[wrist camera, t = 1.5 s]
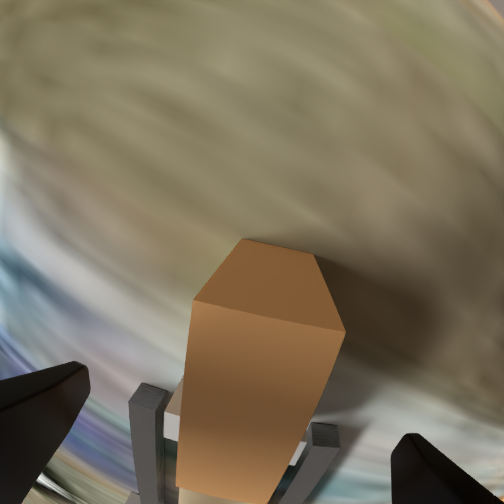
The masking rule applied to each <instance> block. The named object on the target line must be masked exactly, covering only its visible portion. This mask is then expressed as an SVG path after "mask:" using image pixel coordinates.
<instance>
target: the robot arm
mask: <svg viewBox="0 0 504 504" xmlns="http://www.w3.org/2000/svg"><path fill="white" fill-rule="evenodd" d="M90 389H91V387H90V379H89V371H88V368H87V366H86V365H84V364H81V363H79V362H77V361H72V362H68V363H65V364H61V365H58V366H54V367H50V368H47V369H43V370H39V371H35V372H31V373H27V374H24V375H20V376H16V377H12V378H7V379H3V380H0V504H21V503H22V502H23V500H24V499H25V497H26V495H27V494H28V492H29V491H30V489H31V488H32V486H33V485H34V483H35V482H36V480H37V479H38V477H39V475H40V474H41V472H42V471H43V469H44V468H45V466H46V465H47V464H48V462H49V461H50V459H51V458H52V456H53V455H54V453H55V452H56V450H57V449H58V447H59V446H60V444H61V443H62V442H63V440H64V439H65V437H66V436H67V434H68V433H69V431H70V429H71V427H72V426H73V424H74V422H75V420H76V418H77V416H78V414H79V412H80V411H81V409H82V407H83V405H84V403H85V401H86V399H87V398H88V396H89V394H90ZM391 488H392V504H504V502H503V501H501V500H500V499H499V498H498V497H496V496H494V495H493V494H492V493H491V492H490V491H489V490H487V489H486V488H485V487H484V486H482V485H481V484H480V483H479V482H477V481H476V480H475V479H474V478H472V477H471V476H470V475H469V474H467V473H466V472H465V471H464V470H462V469H461V468H460V467H459V466H457V465H456V464H455V463H454V462H453V461H451V460H450V459H449V458H448V457H446V456H445V455H444V454H443V453H442V452H440V451H439V450H438V449H437V448H436V447H434V446H433V445H432V444H431V443H430V442H428V441H427V440H426V439H425V438H424V437H422V436H421V435H420V434H418V433H407V434H405V435H404V436H403V437H402V439H401V440H400V441H399V443H398V444H397V446H396V447H395V449H394V450H393V452H392V454H391Z"/></svg>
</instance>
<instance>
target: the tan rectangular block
mask: <svg viewBox="0 0 504 504" xmlns="http://www.w3.org/2000/svg"><path fill="white" fill-rule="evenodd" d="M345 334H346V331H345V328H344V326H343V323H342V321H341V319H340V316H339V314H338V311H337V309H336V306H335V304H334V302H333V299H332V297H331V294H330V292H329V290H328V287H327V285H326V283H325V280H324V278H323V276H322V273H321V271H320V269H319V267H318V264H317V262H316V260H315V258H314V255H313V254H310V253H306V252H301V251H297V250H292V249H288V248H283V247H278V246H274V245H269V244H265V243H260V242H255V241H251V240H246V239H241V240H240V241H239V243H238V244H237V245H236V246H235V248H234V249H233V250H232V251H231V253H230V254H229V255H228V256H227V258H226V259H225V260H224V261H223V263H222V264H221V265H220V266H219V268H218V269H217V270H216V272H215V273H214V274H213V275H212V277H211V278H210V279H209V280H208V282H207V283H206V284H205V285H204V287H203V288H202V289H201V291H200V292H199V293H198V294H197V296H196V297H195V298H194V299H193V305H192V312H191V320H190V328H189V336H188V344H187V353H186V361H185V370H184V375H183V377H182V379H181V381H180V383H179V385H178V387H177V388H176V390H175V392H174V394H173V396H172V398H171V400H170V402H169V404H168V406H167V408H166V409H165V411H164V437H165V438H168V439H171V440H174V441H178V451H177V467H176V487H180V488H183V489H187V490H190V491H194V492H198V493H202V494H206V495H210V496H215V497H219V498H224V499H229V500H234V501H240V502H246V503H252V504H267V503H268V501H269V499H270V498H271V496H272V494H273V492H274V491H275V489H276V487H277V485H278V483H279V482H280V480H281V478H282V476H283V474H284V473H285V471H286V469H287V467H288V465H295V464H296V462H297V460H298V459H299V457H300V455H301V453H302V451H303V449H304V447H305V445H306V443H307V432H306V429H307V427H308V425H309V422H310V420H311V418H312V416H313V414H314V411H315V409H316V407H317V405H318V402H319V400H320V398H321V395H322V393H323V391H324V388H325V386H326V383H327V381H328V379H329V376H330V374H331V371H332V368H333V366H334V363H335V361H336V358H337V356H338V353H339V350H340V347H341V345H342V342H343V339H344V336H345Z"/></svg>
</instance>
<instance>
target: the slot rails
mask: <svg viewBox="0 0 504 504" xmlns="http://www.w3.org/2000/svg"><path fill="white" fill-rule="evenodd" d="M166 394H167V391H165V390H162V389H159V388H156V387H153V386H150V385H147V384H144V383H141V384H140V386H139V387H138V389H137V390H136V392H135V393H134V394H133V396H132V397H131V399H130V400H129V401H128V403H129V417H130V429H131V439H132V448H133V457H134V464H135V471H136V478H137V484H138V490H139V496H140V501H141V504H165V470H164V464H165V437H164V411H165V409H166ZM339 449H340V442H339V436H338V431H337V425H327V424H318V423H311V424H310V426H309V428H308V430H307V443H306V445H305V447H304V449H303V451H302V453H301V455H300V457H299V459H298V460H297V462H296V464H295V465H290V466H289V468H288V470H287V471H286V473H285V475H284V477H283V479H282V481H281V482H280V484H279V486H278V488H277V489H276V491H275V493H274V495H273V496H272V498H271V500H270V501H269V503H268V504H302V503H303V502H304V501H305V499H306V498H307V497H308V495H309V494H310V493H311V491H312V490H313V488H314V487H315V486H316V484H317V483H318V481H319V480H320V479H321V477H322V476H323V474H324V473H325V471H326V470H327V468H328V467H329V465H330V464H331V462H332V461H333V459H334V457H335V456H336V454H337V453H338V451H339Z"/></svg>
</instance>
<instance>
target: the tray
mask: <svg viewBox="0 0 504 504" xmlns="http://www.w3.org/2000/svg"><path fill="white" fill-rule="evenodd" d="M125 504H141V501H140V496H139V495H138V494H135V493H133V492H131V493H130V495H129V497H128V499H127V501H126V503H125Z"/></svg>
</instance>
